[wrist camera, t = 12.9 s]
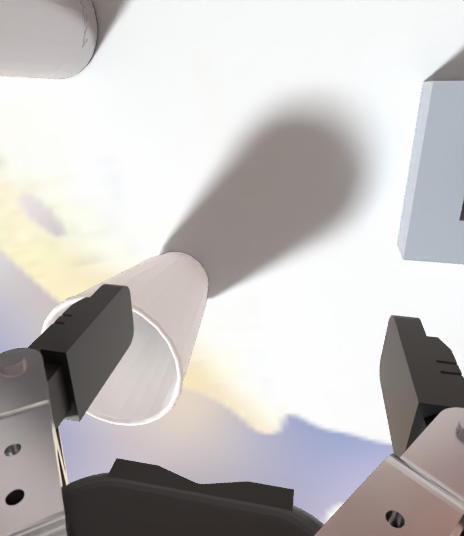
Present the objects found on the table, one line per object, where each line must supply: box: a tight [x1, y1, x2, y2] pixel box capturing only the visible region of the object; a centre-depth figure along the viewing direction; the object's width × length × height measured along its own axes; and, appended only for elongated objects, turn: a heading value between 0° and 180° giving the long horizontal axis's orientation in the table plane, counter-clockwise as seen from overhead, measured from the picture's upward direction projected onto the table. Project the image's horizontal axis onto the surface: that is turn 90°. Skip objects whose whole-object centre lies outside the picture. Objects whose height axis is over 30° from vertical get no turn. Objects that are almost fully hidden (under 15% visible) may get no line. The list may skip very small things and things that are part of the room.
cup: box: [41, 252, 209, 426], centre depth 39 cm, size 12×12×16 cm
